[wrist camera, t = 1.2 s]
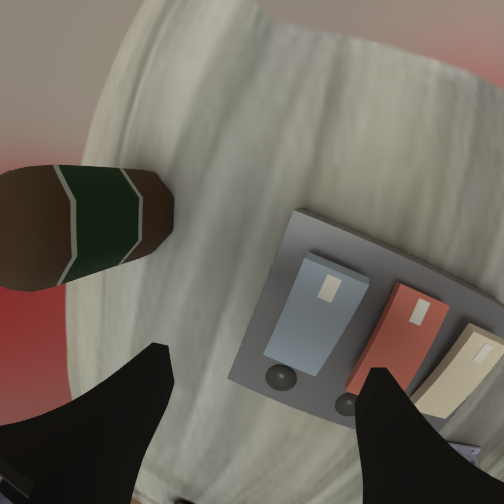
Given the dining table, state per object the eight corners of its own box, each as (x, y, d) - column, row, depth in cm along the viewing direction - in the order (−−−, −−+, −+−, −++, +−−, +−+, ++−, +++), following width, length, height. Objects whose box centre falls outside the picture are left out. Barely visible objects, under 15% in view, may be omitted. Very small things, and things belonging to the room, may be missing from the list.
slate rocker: (368, 277, 14) (369, 286, 13) (317, 366, 17) (314, 377, 16) (307, 251, 15) (304, 258, 14) (267, 345, 18) (262, 355, 17)
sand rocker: (503, 338, 12) (508, 348, 11) (443, 409, 15) (445, 419, 14) (469, 322, 13) (474, 332, 12) (408, 399, 16) (409, 410, 15)
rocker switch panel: (495, 298, 16) (519, 316, 13) (417, 417, 20) (424, 448, 16) (301, 207, 20) (292, 209, 16) (244, 353, 24) (226, 379, 20)
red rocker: (443, 302, 14) (450, 306, 13) (391, 399, 15) (394, 408, 14) (396, 281, 15) (401, 284, 14) (344, 383, 16) (345, 391, 15)
